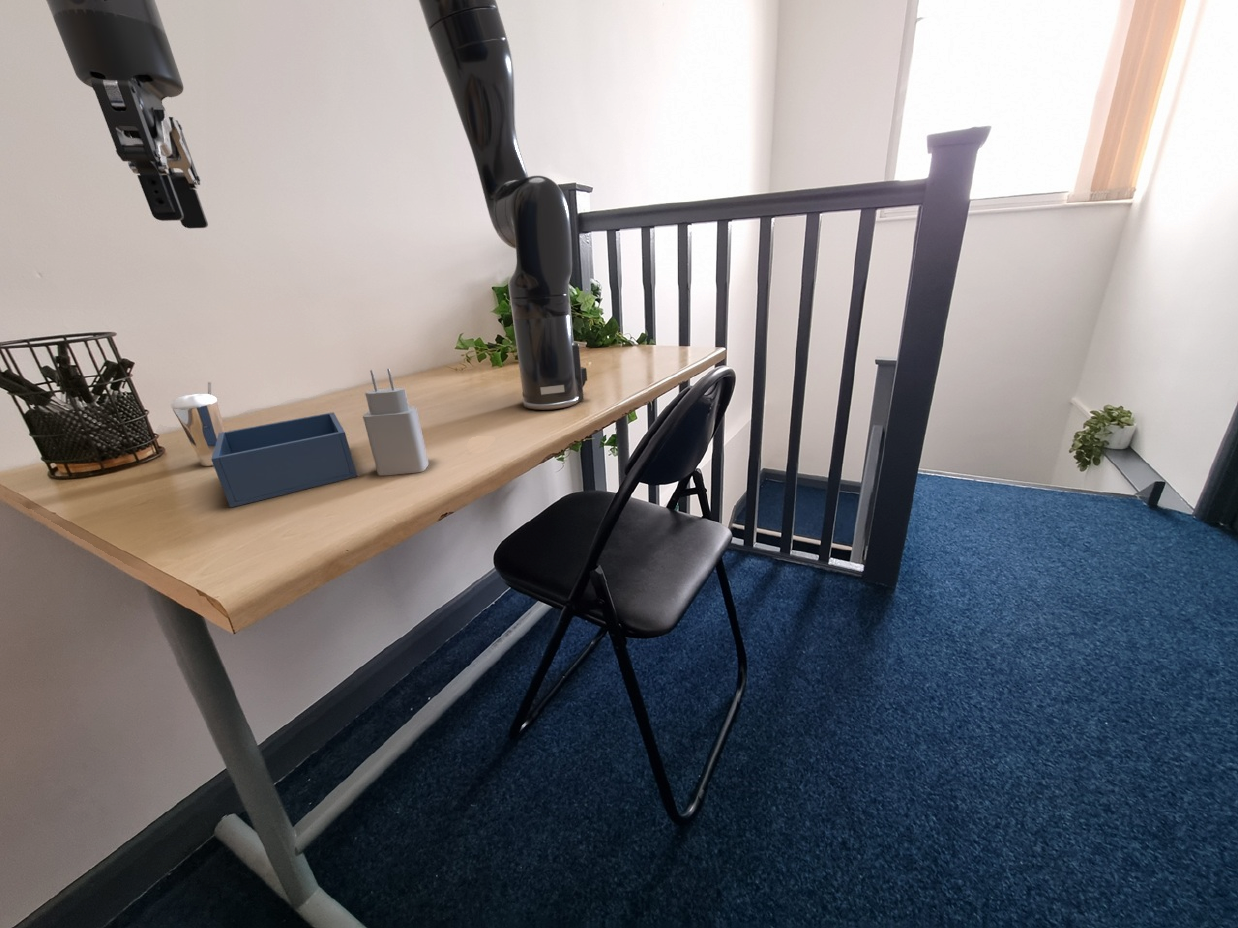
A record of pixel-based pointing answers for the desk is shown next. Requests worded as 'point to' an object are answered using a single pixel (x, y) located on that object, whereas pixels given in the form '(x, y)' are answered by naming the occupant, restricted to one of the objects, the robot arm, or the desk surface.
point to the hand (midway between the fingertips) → (184, 224)
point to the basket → (282, 458)
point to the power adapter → (394, 431)
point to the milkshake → (200, 422)
